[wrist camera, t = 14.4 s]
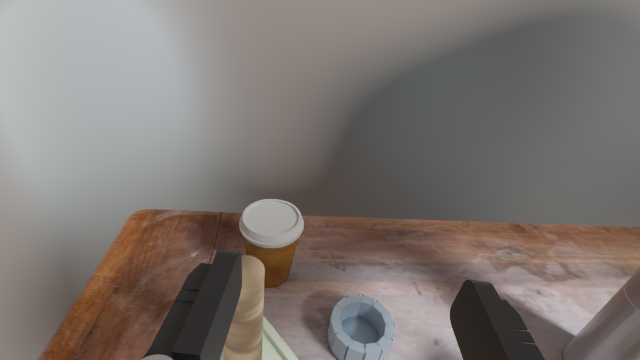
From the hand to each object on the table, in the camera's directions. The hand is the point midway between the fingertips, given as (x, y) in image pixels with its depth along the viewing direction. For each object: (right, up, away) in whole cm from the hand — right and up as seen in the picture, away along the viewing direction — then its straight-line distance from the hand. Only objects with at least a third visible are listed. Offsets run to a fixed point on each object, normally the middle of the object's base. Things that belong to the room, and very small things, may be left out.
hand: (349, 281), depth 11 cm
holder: (+4, -19, +32) cm, 37 cm away
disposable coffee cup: (-9, -12, +40) cm, 43 cm away
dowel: (-10, -20, +25) cm, 34 cm away
